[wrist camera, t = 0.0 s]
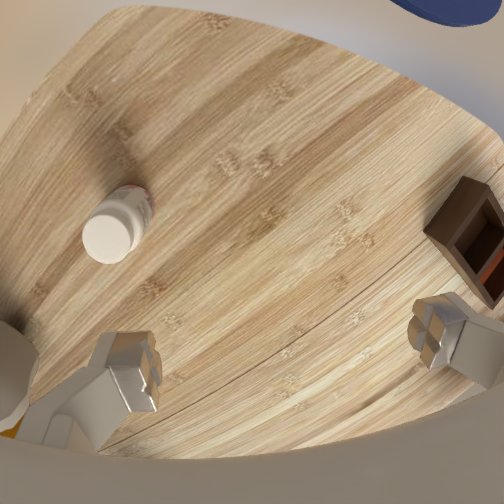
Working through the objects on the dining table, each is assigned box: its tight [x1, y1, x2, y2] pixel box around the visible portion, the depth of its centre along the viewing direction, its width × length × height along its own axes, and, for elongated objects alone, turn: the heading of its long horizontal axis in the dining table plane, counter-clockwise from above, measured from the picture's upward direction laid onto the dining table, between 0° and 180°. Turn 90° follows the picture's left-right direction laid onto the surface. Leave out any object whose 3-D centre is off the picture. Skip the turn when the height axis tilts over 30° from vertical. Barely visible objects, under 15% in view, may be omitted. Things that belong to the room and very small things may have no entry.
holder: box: [423, 176, 504, 310], centre depth 33 cm, size 17×9×5 cm, turn 53°
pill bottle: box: [82, 185, 154, 264], centre depth 26 cm, size 5×5×8 cm
